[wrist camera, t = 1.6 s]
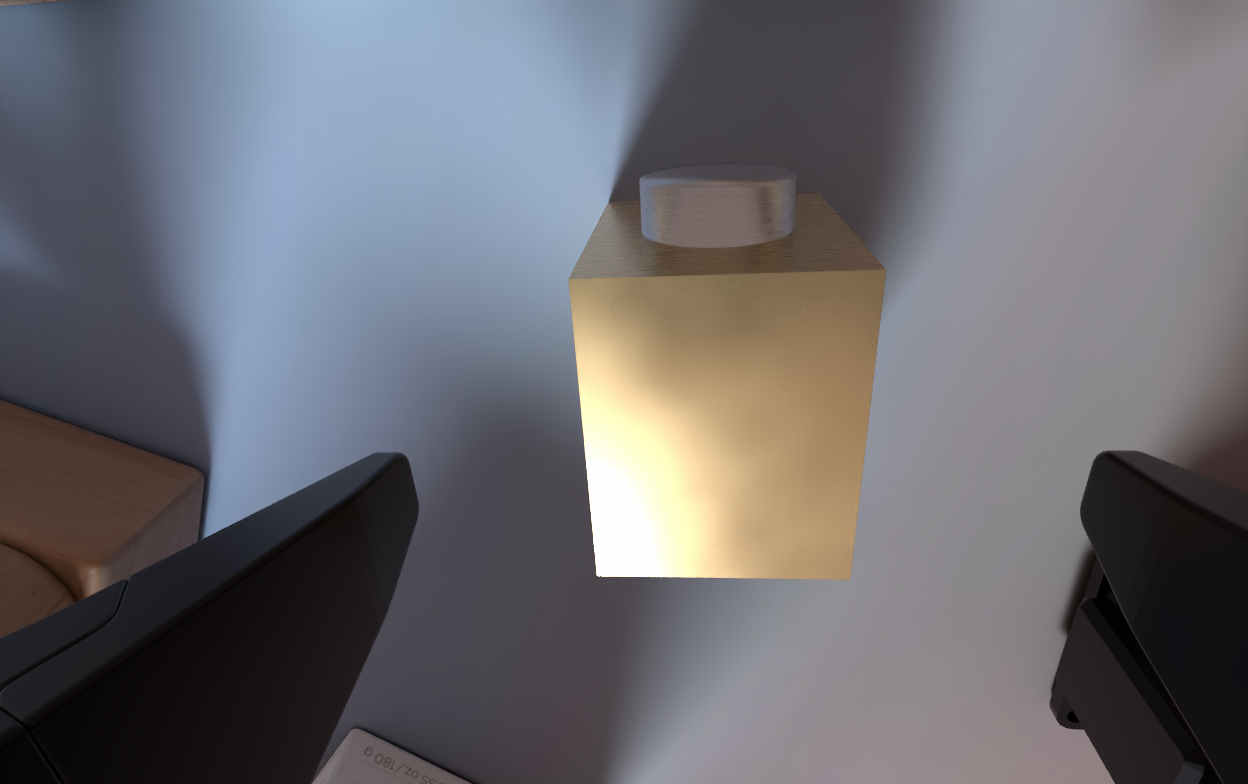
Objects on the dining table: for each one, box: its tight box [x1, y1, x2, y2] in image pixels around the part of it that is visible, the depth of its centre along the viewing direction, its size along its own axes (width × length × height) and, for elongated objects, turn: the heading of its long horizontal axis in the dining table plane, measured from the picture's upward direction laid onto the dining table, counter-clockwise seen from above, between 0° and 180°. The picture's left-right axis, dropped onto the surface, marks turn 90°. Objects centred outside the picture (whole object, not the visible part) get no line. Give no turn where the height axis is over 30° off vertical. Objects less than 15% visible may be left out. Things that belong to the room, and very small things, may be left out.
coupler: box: [569, 164, 886, 580], centre depth 12 cm, size 7×4×5 cm, turn 3°
